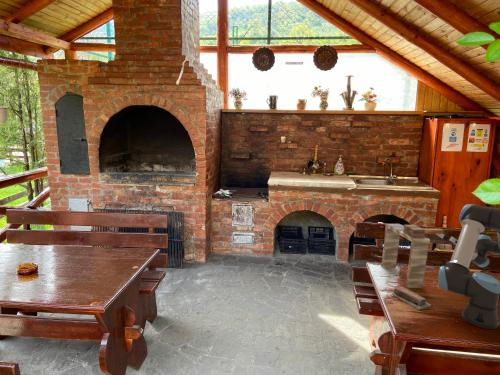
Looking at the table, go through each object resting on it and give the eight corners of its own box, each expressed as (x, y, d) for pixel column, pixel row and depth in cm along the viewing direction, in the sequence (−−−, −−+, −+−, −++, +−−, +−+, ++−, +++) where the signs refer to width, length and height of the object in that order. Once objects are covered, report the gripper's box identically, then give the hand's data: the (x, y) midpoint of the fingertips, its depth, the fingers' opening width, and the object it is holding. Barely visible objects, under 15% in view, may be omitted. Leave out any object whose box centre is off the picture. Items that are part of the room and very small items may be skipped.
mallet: (446, 237, 206) (448, 229, 205) (412, 237, 203) (413, 229, 202) (435, 232, 216) (436, 224, 215) (403, 232, 213) (404, 224, 212)
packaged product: (391, 287, 195) (403, 284, 200) (390, 295, 196) (402, 292, 200) (420, 302, 179) (432, 298, 184) (419, 311, 180) (430, 307, 185)
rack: (423, 287, 207) (430, 239, 201) (407, 287, 205) (414, 239, 200) (394, 265, 238) (399, 223, 232) (380, 266, 236) (385, 223, 231)
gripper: (479, 264, 204) (454, 247, 200) (449, 249, 229) (426, 233, 224) (486, 253, 204) (461, 236, 199) (456, 239, 228) (433, 224, 224)
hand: (443, 234), depth 212 cm, fingers open, 13 cm apart
